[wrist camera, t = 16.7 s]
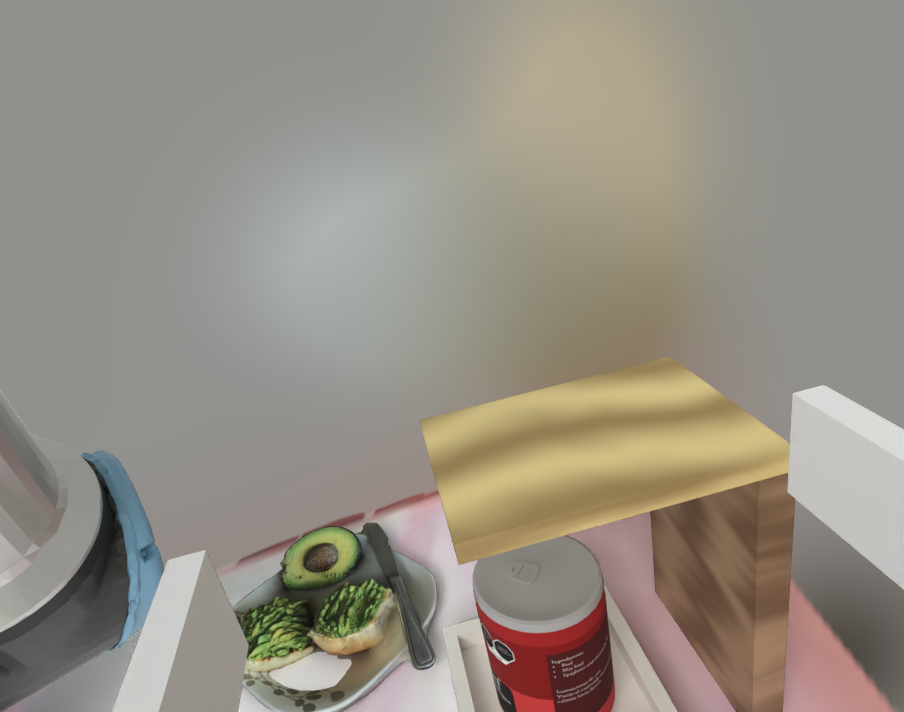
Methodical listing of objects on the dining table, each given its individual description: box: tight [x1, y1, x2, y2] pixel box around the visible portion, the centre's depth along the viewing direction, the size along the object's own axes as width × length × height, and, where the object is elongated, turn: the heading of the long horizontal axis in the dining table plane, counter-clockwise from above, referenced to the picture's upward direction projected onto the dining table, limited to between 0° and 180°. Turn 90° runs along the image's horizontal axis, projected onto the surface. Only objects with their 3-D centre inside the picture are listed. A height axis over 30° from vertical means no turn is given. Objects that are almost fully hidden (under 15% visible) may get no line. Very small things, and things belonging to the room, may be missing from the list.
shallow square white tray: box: [442, 584, 678, 712], centre depth 41 cm, size 13×13×2 cm
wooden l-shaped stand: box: [420, 357, 795, 712], centre depth 37 cm, size 12×17×20 cm
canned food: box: [473, 535, 615, 712], centre depth 39 cm, size 8×8×11 cm
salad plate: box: [232, 523, 437, 712], centre depth 49 cm, size 19×18×5 cm
